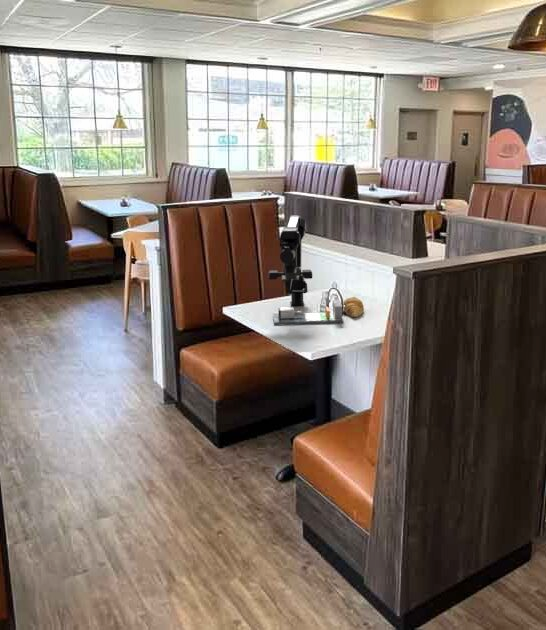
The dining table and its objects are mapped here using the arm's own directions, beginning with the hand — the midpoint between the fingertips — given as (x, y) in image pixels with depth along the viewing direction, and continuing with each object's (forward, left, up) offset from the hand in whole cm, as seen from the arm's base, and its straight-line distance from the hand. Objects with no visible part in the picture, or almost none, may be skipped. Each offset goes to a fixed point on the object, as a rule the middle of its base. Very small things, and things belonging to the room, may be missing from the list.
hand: (290, 293), depth 274 cm
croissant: (-10, +29, -12) cm, 33 cm away
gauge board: (0, +8, -12) cm, 14 cm away
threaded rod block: (0, 0, -10) cm, 10 cm away
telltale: (0, +16, -10) cm, 19 cm away
